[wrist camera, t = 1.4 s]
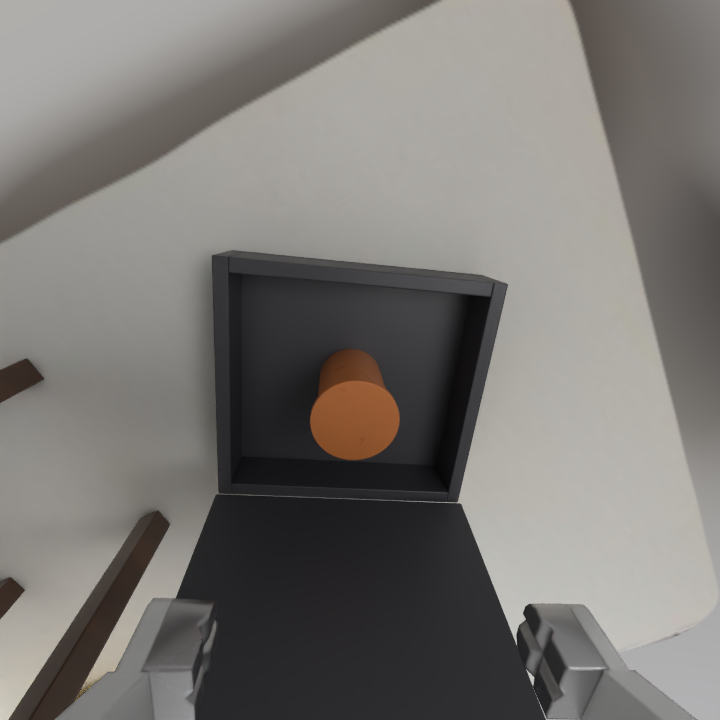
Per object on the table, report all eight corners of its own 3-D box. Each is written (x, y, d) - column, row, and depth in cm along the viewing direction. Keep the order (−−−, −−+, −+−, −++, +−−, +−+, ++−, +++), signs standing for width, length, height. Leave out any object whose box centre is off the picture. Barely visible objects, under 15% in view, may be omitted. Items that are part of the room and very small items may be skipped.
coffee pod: (317, 341, 24) (312, 377, 18) (388, 346, 24) (405, 383, 19) (313, 406, 25) (307, 458, 20) (380, 410, 26) (393, 462, 20)
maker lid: (33, 961, 9) (74, 1001, 11) (624, 916, 11) (567, 958, 13) (215, 493, 23) (219, 548, 25) (461, 503, 25) (446, 553, 27)
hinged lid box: (230, 250, 22) (211, 255, 19) (482, 275, 24) (508, 284, 20) (233, 458, 27) (218, 493, 24) (442, 468, 29) (457, 502, 25)
